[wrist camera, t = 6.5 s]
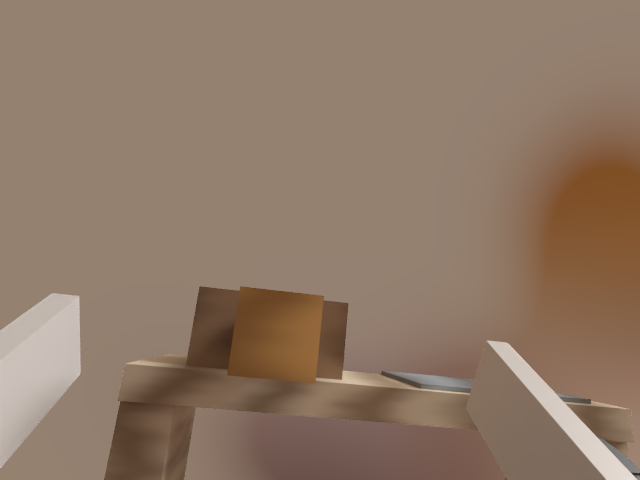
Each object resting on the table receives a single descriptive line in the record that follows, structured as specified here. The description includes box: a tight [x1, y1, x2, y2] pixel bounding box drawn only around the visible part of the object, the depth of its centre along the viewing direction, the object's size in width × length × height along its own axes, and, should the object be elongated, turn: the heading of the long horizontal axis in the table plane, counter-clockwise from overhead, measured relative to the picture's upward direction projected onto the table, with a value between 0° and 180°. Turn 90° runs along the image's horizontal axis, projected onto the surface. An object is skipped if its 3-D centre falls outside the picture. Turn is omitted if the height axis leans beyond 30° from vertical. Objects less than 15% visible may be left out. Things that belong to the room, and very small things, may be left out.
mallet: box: [186, 287, 348, 383], centre depth 22 cm, size 10×22×5 cm, turn 8°
